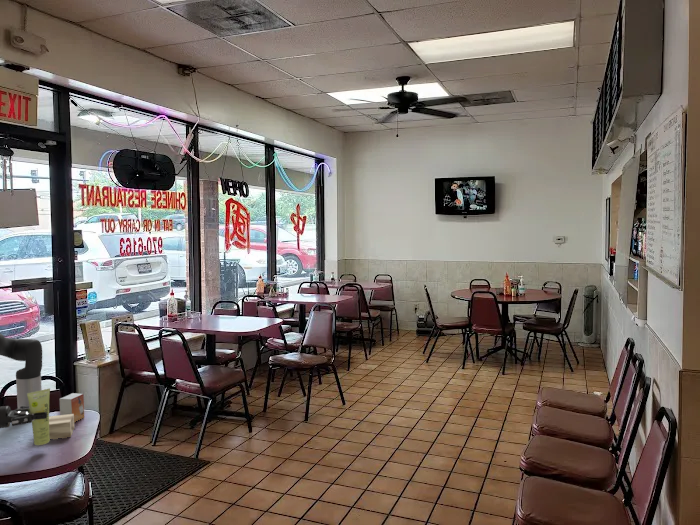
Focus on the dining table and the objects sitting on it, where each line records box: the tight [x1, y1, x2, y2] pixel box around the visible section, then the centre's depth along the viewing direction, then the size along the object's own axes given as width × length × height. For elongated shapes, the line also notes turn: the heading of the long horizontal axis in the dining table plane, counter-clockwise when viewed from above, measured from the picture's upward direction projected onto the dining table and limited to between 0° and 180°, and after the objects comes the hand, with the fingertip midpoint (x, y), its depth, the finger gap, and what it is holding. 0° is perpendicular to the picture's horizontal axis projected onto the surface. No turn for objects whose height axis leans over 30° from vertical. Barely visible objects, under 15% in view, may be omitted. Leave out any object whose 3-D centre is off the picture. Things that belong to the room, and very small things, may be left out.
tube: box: [27, 387, 51, 446], centre depth 204 cm, size 6×5×20 cm
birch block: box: [49, 414, 75, 441], centre depth 221 cm, size 10×12×6 cm
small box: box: [59, 392, 85, 424], centre depth 236 cm, size 8×6×10 cm
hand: (47, 412), depth 205 cm, fingers closed on tube, 4 cm apart
